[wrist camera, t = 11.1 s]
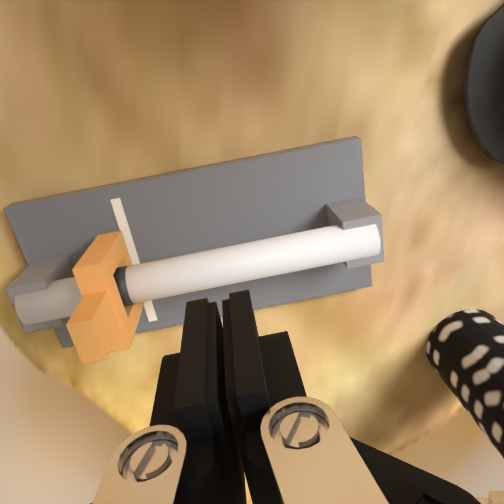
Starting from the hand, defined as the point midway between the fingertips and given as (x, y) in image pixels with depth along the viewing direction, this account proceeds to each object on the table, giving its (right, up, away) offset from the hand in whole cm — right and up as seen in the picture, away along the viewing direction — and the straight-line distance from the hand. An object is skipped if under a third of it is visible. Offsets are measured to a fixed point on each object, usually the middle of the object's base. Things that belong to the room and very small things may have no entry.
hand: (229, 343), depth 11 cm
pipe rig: (-4, +3, +28) cm, 28 cm away
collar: (-11, +1, +25) cm, 27 cm away
